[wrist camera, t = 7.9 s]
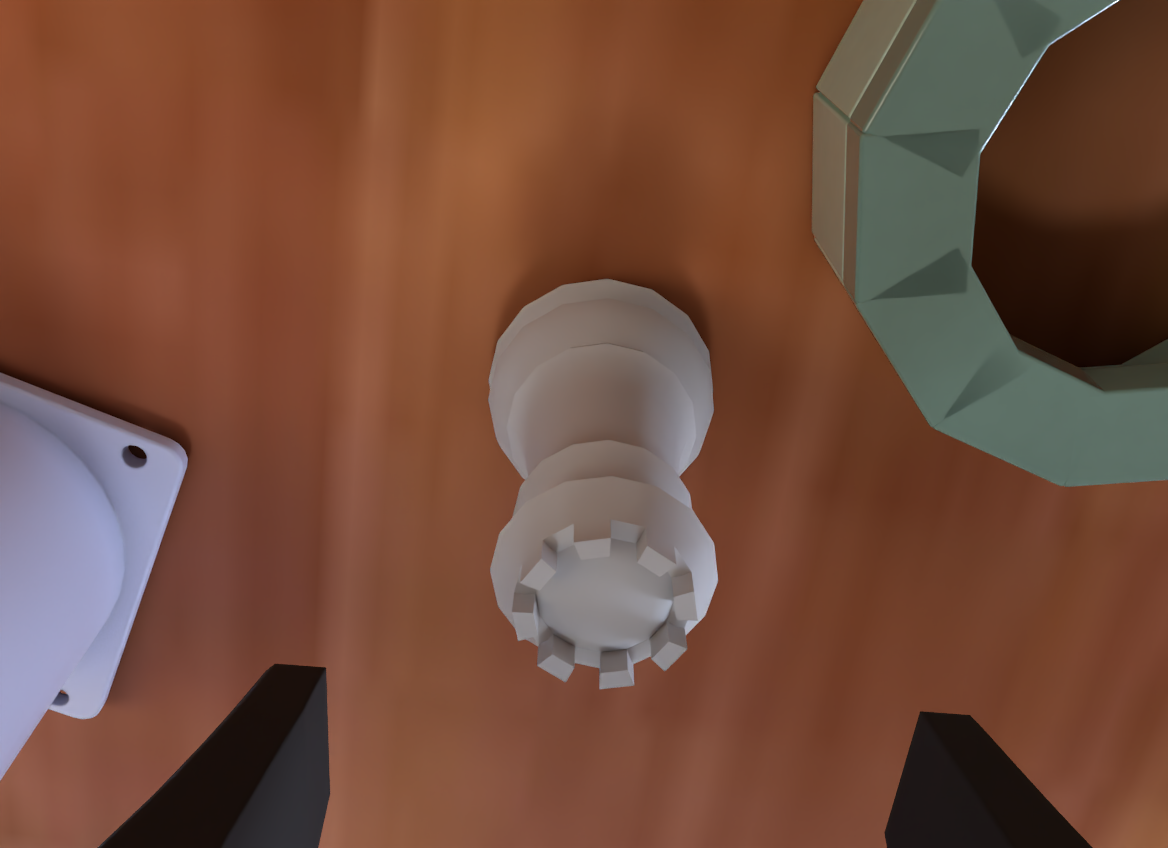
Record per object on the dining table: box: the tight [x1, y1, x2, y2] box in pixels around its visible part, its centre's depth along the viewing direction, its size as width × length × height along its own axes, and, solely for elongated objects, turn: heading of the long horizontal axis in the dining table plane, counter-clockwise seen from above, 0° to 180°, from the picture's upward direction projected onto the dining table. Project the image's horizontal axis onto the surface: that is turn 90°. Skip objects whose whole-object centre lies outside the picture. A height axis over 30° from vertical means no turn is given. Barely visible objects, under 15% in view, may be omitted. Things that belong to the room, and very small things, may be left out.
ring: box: [812, 0, 1168, 487], centre depth 18 cm, size 10×10×4 cm
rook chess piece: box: [488, 279, 718, 689], centre depth 18 cm, size 4×4×8 cm
